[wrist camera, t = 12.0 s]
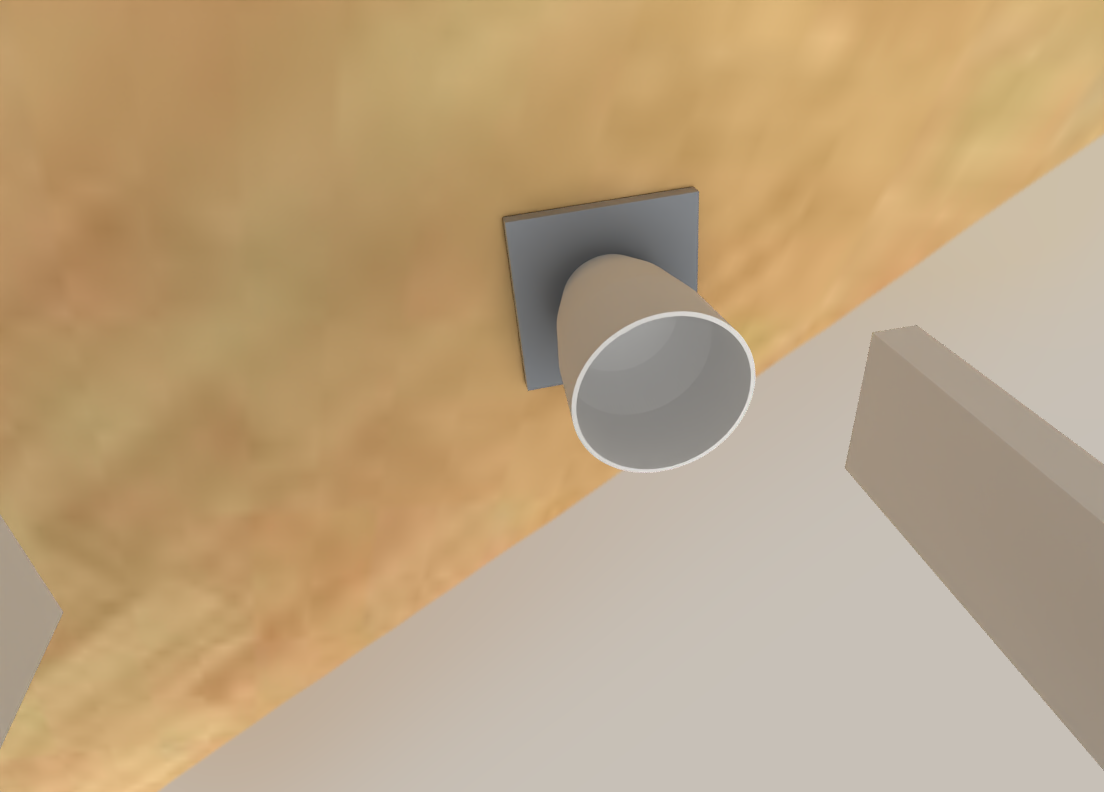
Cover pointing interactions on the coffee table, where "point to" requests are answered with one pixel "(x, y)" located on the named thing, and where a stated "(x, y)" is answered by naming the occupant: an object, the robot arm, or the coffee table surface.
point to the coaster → (582, 234)
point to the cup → (648, 366)
